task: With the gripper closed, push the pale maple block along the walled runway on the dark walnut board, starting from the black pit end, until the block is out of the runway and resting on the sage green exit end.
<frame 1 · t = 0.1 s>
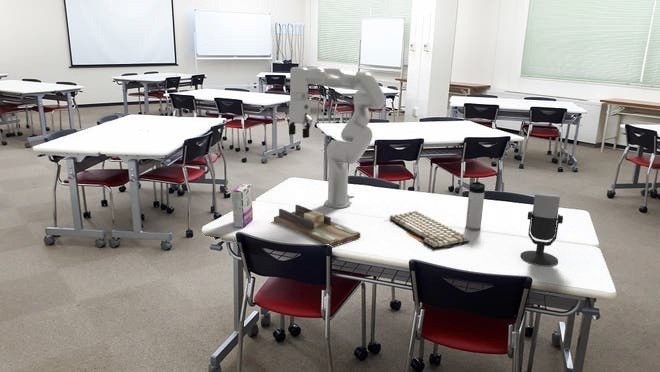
hand: (299, 136, 217), 37 cm above the table, tool pointing down, fingers open, 9 cm apart
microphone: (538, 259, 183), on the table
candy bar box: (243, 223, 214), on the table
maple block: (313, 223, 209), point 2 cm above the table, touching runway board
runway board: (315, 229, 209), on the table
travel mug: (473, 228, 214), on the table
mechanical keyboard: (425, 232, 210), on the table
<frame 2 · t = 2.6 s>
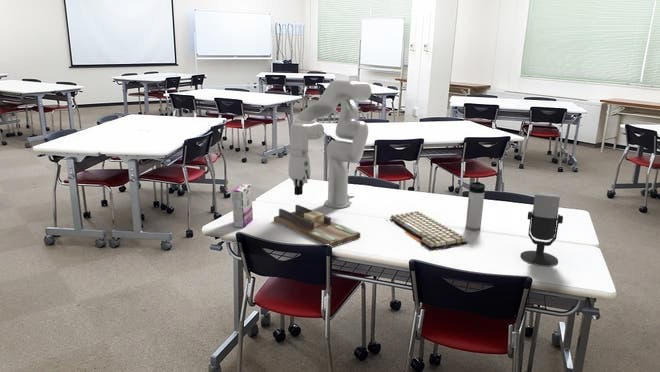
hand: (298, 194, 213), 13 cm above the table, tool pointing down, fingers closed
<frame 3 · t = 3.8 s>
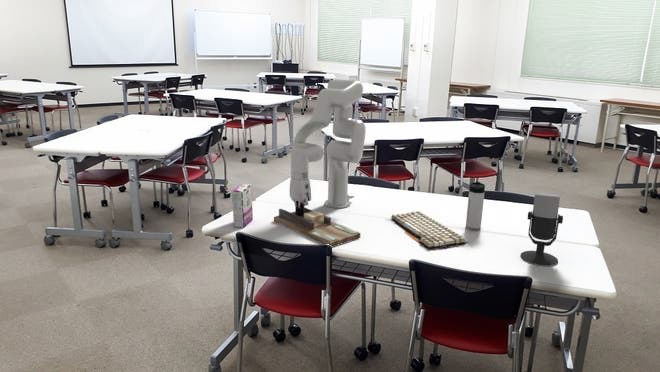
hand: (299, 215, 216), 3 cm above the table, tool pointing down, fingers closed
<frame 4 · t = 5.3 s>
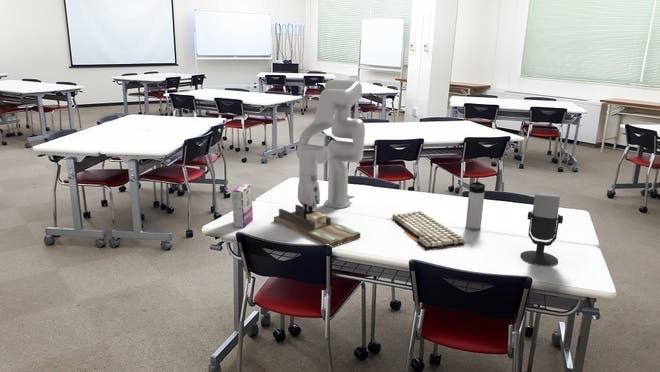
hand: (308, 218, 212), 3 cm above the table, tool pointing down, fingers closed
maple block: (316, 224, 208), point 2 cm above the table, touching gripper, runway board
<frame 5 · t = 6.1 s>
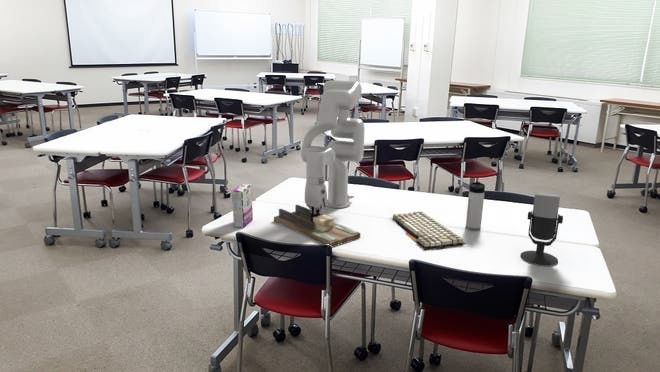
hand: (315, 221, 208), 3 cm above the table, tool pointing down, fingers closed
maple block: (323, 228, 205), point 2 cm above the table, touching gripper, runway board
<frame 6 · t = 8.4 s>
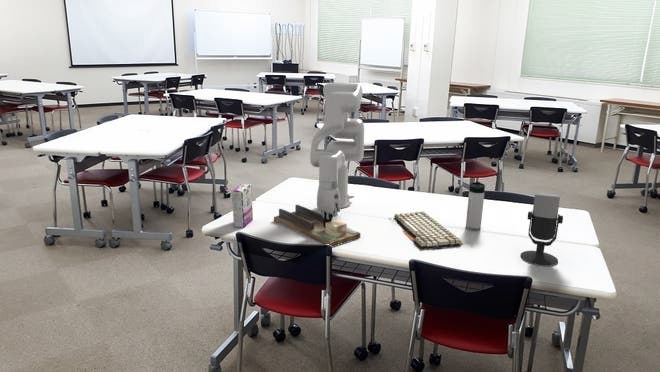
hand: (327, 227, 203), 3 cm above the table, tool pointing down, fingers closed
maple block: (335, 233, 199), point 2 cm above the table, touching gripper, runway board
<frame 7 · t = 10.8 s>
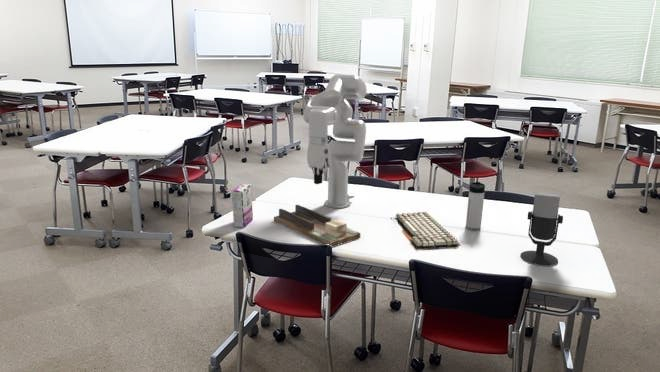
hand: (318, 183, 205), 20 cm above the table, tool pointing down, fingers closed
maple block: (335, 233, 199), point 2 cm above the table, touching runway board
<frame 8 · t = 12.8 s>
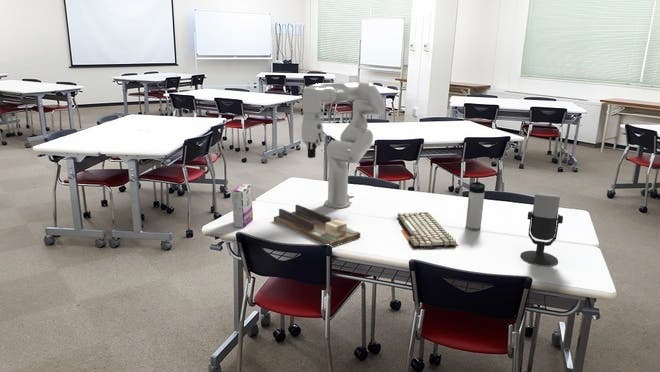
hand: (311, 157, 219), 27 cm above the table, tool pointing down, fingers closed
at the end: maple block inside the target area on the runway board (1.0 cm from its centre), point 2.0 cm above the runway board's base; maple block tilted 0° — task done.
